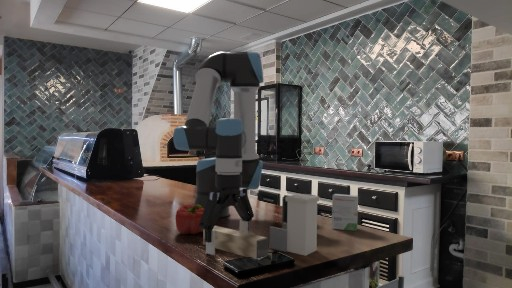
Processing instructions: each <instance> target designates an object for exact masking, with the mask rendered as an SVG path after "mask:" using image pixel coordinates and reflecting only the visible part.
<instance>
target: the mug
mask: <svg viewBox="0 0 512 288" xmlns="http://www.w3.org/2000/svg"><path fill="white" fill-rule="evenodd" d="M287 196H288V195H284V196H283V197H282V201H281V203H282V205H281V206H282V207H281V210H282V211H281V221H282V223H284V222H285V223H287V204H288V201H286V197H287Z"/></svg>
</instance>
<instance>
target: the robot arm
mask: <svg viewBox="0 0 512 288" xmlns="http://www.w3.org/2000/svg"><path fill="white" fill-rule="evenodd" d="M263 71H264V70H263V64H262V58H261V55H260V53H258V52H254V51H218V52H216V53H213V54H211V55H209V56H208V57H206V58H205V59H204V60H203V61H202V63H201V64H200V65H199V66H198V68H197V70H196V73H195V76H194V77H195V79H194V80H195V82H196V83H195V87H194V90H193V93H192V97H191V101H190V104H189V108H188V111H187V115H186V119H185V122H184V125H181V126H180V125H179V126H176V127H175V128H174V131H173V136H172V137H173V138H172V142H173V145H174V148H175V149H176V150H179V151H189V152H190V151H198V152H199V151H210V152H211V151H212V152H215V157H210V158H209V157H208V158H203V159H200V160H198V161H197V163H196V170H195V173H196V175H195V176H196V178H195V180H196V183H195V184H196V187H195V188H196V189H195V190H196V191H195V192H196V194H195V199H194V203H193V206H194V205H196V204H198V205H201V206H202V207H203V209H204V211H203V214H202V217H201V220H200V223H199V228H202V229H201V230H203V229H204V230H205V242H206V245H205V254H208V255H211V256H215V254H216V248H215V230H213V228H214V226H216V224H217V222H218V220H219V219H220V218H225V217H228V216H229V215H230V207H233V208H234V210H235V211H236V213H237V214H238V215H239V217H240V219H241V220H239V229H238V231H240V232H245V233H249V229H250V228H249V226H250V222H252V221H253V218H254V217H255V214H254V211H253V208H252V205H251V202H250V198H249V196H248V191H250V190H251V191H252V190H253V191H254V190H258V189H259V188H260V185H261V177H262V170H263V166H264V165H263V164H264V162H263V160H260V156H259V154H258V153H257V152H256V137H257V136H256V131H257V130H256V129H257V128H256V127H257V126H256V125H257V124H256V122H257V119H256V117H257V108H256V107H257V105H256V104H257V102H256V101H257V99H256V97H257V96H256V93H257V91H258V90H259V89H260V88H261V87H260V84H263V83H264V72H263ZM222 83H224V84H225V83H226V84H227V83H228V84H229V88H230V89H231V91H233V118H232V117H231V118H228V117H225V118H224V117H223V118H219V119H217V120H216V124H215V126H209V123H210V121H211V114H212V111H213V106H214V102H215V96H216V93H217V88H219V87H220V86H221V84H222Z"/></svg>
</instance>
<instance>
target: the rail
mask: <svg viewBox="0 0 512 288" xmlns="http://www.w3.org/2000/svg"><path fill="white" fill-rule="evenodd" d="M202 230H203V238H202V239H203V241H202V243H203V245H204V246H206V242H205V230H204V229H202ZM213 230H215V249H217V250H220V251H221V250H222V251H224V252H227V253H232V254H235V255H238V256H241V257H245V258H248V257H256V258H261V257H264V256H266V255H268V256H269V238H270V237H267V236H261V235H257V234H253V233H250V232H248V233H245V232H240V231H239V230H235V229H233V228H232V229H231V228H227V227H222V226H218V225H215V226H214V228H213ZM203 245H202V246H203Z"/></svg>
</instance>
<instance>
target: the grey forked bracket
mask: <svg viewBox="0 0 512 288" xmlns="http://www.w3.org/2000/svg"><path fill="white" fill-rule="evenodd" d="M302 194H303V193H299V194H297V195H296V194H291V195H292V196H290V195H286V196H287V197H286V201H288V204H287V223H286V222H282V227H276V226H269V237H268V238H269V241H268V249H272V250H275V251H276V250H277V251H281V252H285V253H286V252H289V253H292V254H297V255H301V256H308V255H310V254H313V253H314V252H316V251H317V250H318V248H317V244H318V243H317V242H318V240H317V238H318V235H317V234H318V202H319V201H320V196H317V195H316V196H310V195H302Z"/></svg>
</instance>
